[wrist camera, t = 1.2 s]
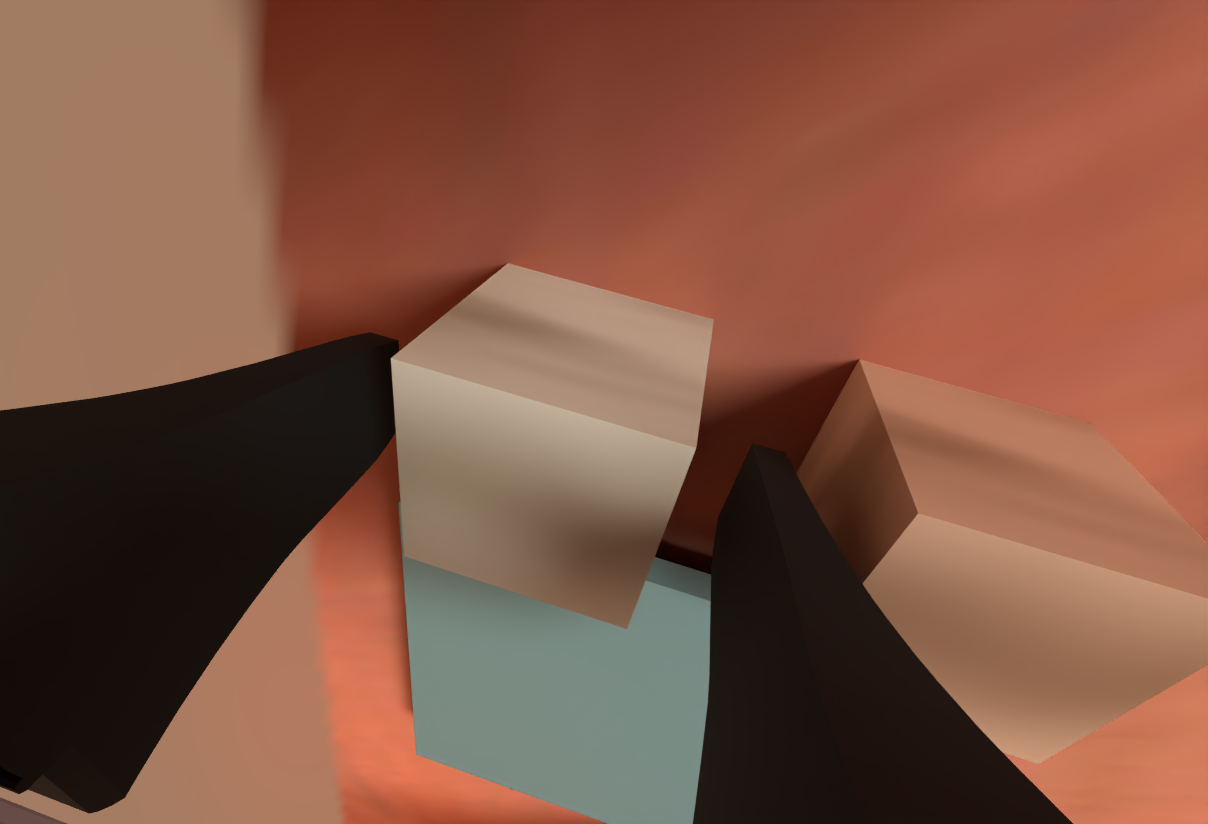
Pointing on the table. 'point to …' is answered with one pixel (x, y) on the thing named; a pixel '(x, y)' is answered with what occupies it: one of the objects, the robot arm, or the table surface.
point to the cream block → (548, 437)
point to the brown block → (1010, 554)
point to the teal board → (564, 691)
